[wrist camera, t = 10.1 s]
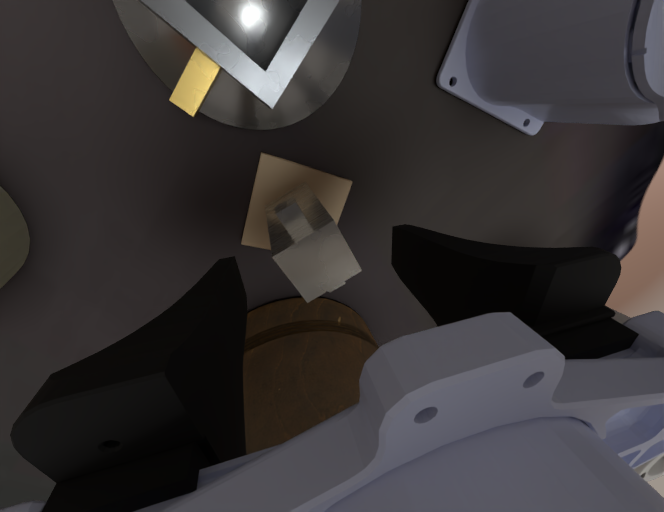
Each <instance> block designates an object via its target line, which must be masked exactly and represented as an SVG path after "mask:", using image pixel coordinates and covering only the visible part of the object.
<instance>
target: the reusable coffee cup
mask: <svg viewBox="0 0 664 512" xmlns="http://www.w3.org/2000/svg"><path fill="white" fill-rule="evenodd" d="M29 246H30V237H29V232H28V227H27V224H26V222H25V220H24V217H23V215H22V213H21V211H20V209H19V208H18V207H17V205H16V204H15V202H14V201H13V200H12V198H11V197H10V196H9V194H8V193H7V192H6V191H5V190H4V189H3V188H2V187H1V186H0V289H1V288H2V287H3V286H4V285H5V284H6V283H7V282H8V281H9V280H10V279H11V278H12V277H13V276H14V275H15V274H16V273H17V271H18V270H19V269H20V268H21V267H22V266H23V264H24V263H25V260H26V258H27V256H28V253H29Z"/></svg>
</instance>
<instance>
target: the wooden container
mask: <svg viewBox="0 0 664 512" xmlns="http://www.w3.org/2000/svg"><path fill="white" fill-rule="evenodd" d="M378 348H379V347H378V345H377V343H376V342H375V340H374V338H373V336H372V334H371V332H370V330H369V329H368V327H367V325H366V324H365V322H364V321H363V319H362V318H361V317H360V316H359V315H358V314H357V313H356V312H355V311H353V310H352V309H351V308H349V307H347V306H345V305H343V304H341V303H338V302H336V301H333V300H329V299H324V298H315V299H314V300H312V301H310V302H308V303H307V302H306V300H305V299H304V298H303V297H300V298H290V299H285V300H280V301H276V302H273V303H270V304H267V305H264V306H262V307H259V308H257V309H255V310H253V311H251V312H249V313H247V325H246V336H245V346H244V357H243V394H244V419H245V438H246V454H247V455H248V454H251V453H254V452H257V451H261V450H264V449H267V448H270V447H273V446H276V445H280V444H282V443H284V442H286V441H288V440H290V439H292V438H293V437H295V436H297V435H299V434H301V433H303V432H305V431H306V430H308V429H310V428H312V427H314V426H316V425H318V424H319V423H321V422H323V421H325V420H327V419H329V418H330V417H332V416H334V415H336V414H338V413H340V412H342V411H343V410H345V409H347V408H349V407H351V406H353V405H354V404H356V403H358V402H359V399H360V385H359V379H360V376H361V373H362V370H363V367H364V363H365V362H366V361H367V359H368V358H369V357H370V356H371V355H372V354H373V353H374V352H375V351H376V350H377V349H378Z"/></svg>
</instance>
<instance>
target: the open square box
mask: <svg viewBox="0 0 664 512" xmlns="http://www.w3.org/2000/svg"><path fill="white" fill-rule="evenodd" d="M137 1H139V2H140V3H141V4H142V5H144V6H145V7H146V8H147V9H148V10H150V11H151V12H152V13H153V14H155V15H156V16H157V17H158V18H159V19H161V20H162V21H163V22H164V23H166V24H167V25H168V26H169V27H170V28H172V29H173V30H174V31H175V32H177V33H178V34H179V35H180V36H181V37H183V38H184V39H185V40H186V41H188V42H189V43H190V44H191V45H192V46H194V47H195V48H196V49H195V51H194V53H193V54H192V56H191V58H190V60H189V62H188V64H187V66H186V68H185V70H184V72H183V74H182V76H181V78H180V80H179V82H178V84H177V86H176V88H175V89H174V91H173V93H172V95H171V97H170V99H169V100H170V101H171V102H173V103H174V104H175V105H177V106H178V107H180V108H181V109H183V110H184V111H186V112H187V113H188V114H190V115H191V116H193V117H196V116H197V115H198V113H199V111H200V109H201V107H202V105H203V104H204V102H205V100H206V98H207V96H208V95H209V93H210V91H211V89H212V87H213V85H214V84H215V82H216V80H217V78H218V76H219V74H220V73H221V71H222V70H223V71H224V72H225V73H227V74H228V75H229V76H230V77H231V78H233V79H234V80H235V81H236V82H238V83H239V84H240V85H241V86H242V87H244V88H245V89H246V90H247V91H249V92H250V93H251V94H252V95H253V96H255V97H256V98H257V99H258V100H260V101H261V102H262V103H263V104H264V105H266V106H267V107H268V108H269V109H273V107H274V106H275V104H276V102H277V101H278V99H279V98H280V96H281V94H282V93H283V91H284V89H285V88H286V86H287V85H288V83H289V81H290V80H291V78H292V77H293V75H294V73H295V72H296V70H297V68H298V67H299V65H300V64H301V62H302V60H303V59H304V57H305V56H306V54H307V52H308V51H309V49H310V47H311V46H312V44H313V43H314V41H315V39H316V38H317V36H318V35H319V33H320V31H321V30H322V28H323V26H324V25H325V23H326V22H327V20H328V18H329V17H330V15H331V14H332V12H333V10H334V9H335V7H336V5H337V4H338V2H339V1H340V0H308V1H307V2H306V4H305V6H304V8H303V9H302V11H301V13H300V14H299V16H298V18H297V19H296V21H295V23H294V24H293V26H292V28H291V30H290V31H289V33H288V35H287V36H286V38H285V40H284V41H283V43H282V45H281V46H280V48H279V50H278V52H277V53H276V55H275V57H274V58H273V60H272V62H271V63H270V65H269V67H268V69H267V70H266V72H265V71H264V70H263V69H262V68H260V67H259V66H258V65H257V64H256V63H255V62H254V61H252V60H251V59H250V58H249V57H248V56H247V55H246V54H245V53H243V52H242V51H241V50H240V49H239V48H238V47H237V46H236V45H234V44H233V43H232V42H231V41H230V40H229V39H228V38H227V37H225V36H224V35H223V34H222V33H221V32H220V31H219V30H218V29H216V28H215V27H214V26H213V25H212V24H211V23H210V22H208V21H207V20H206V19H205V18H204V17H203V16H202V15H201V14H199V13H198V12H197V11H196V10H195V9H194V8H193V7H192V6H190V5H189V4H188V3H187V2H186V1H185V0H137Z"/></svg>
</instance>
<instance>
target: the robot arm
mask: <svg viewBox="0 0 664 512" xmlns="http://www.w3.org/2000/svg"><path fill="white" fill-rule="evenodd" d="M451 78H452V79H453V83H452V85H451V86H450V85H449V81H450V79H451ZM436 83H437V86H438V87H439V88H441V89H443V90H445V91H447V92H449V93H450V94H452V95H454V96H456V97H458V98H460V99H462V100H463V101H465V102H467V103H469V104H471V105H473V106H475V107H477V108H478V109H480V110H482V111H484V112H486V113H488V114H490V115H491V116H493V117H495V118H497V119H499V120H501V121H503V122H504V123H506V124H508V125H510V126H512V127H514V128H516V129H518V130H519V131H521V132H523V133H525V134H527V135H535V134H536V133H537V132H538V131H539V130H540V128H541V126H542V125H543V123H544V122H564V123H588V124H612V125H644V124H651V123H656V122H660V121H664V0H469V1H468V3H467V5H466V8H465V10H464V13H463V15H462V17H461V20H460V22H459V25H458V27H457V29H456V32H455V34H454V36H453V39H452V41H451V44H450V46H449V48H448V51H447V53H446V56H445V58H444V60H443V63H442V65H441V67H440V70H439V72H438V75H437V78H436ZM524 121H525V123H524ZM523 123H524V125H523ZM391 264H392V266H393V268H394V269H395V271H396V273H397V274H398V276H399V278H400V279H401V280H402V282H403V283H404V284H405V285H406V287H407V288H408V289H409V290H410V291H411V293H412V294H413V295H414V296H415V297H416V299H417V300H418V301H419V302H420V303H421V304H422V306H423V307H424V308H425V309H426V310H427V312H428V313H429V314H430V316H431V317H432V318H433V319H434V321H435V322H436V324H437V326H438V327H435V328H431V329H427V330H424V331H420V332H416V333H413V334H409V335H405V336H401V337H399V338H397V339H395V340H392V341H390V342H388V343H386V344H384V345H382V346H380V347H379V348H378V349H377V350H376V351H375V352H374V353H373V354H372V355H371V356H370V357H369V358H368V359H367V361H366V362H365V363H364V367H363V370H362V373H361V376H360V379H359V385H360V399H359V402H358V403H356V404H354V405H353V406H351V407H349V408H347V409H345V410H343V411H342V412H340V413H338V414H336V415H334V416H332V417H330V418H329V419H327V420H325V421H323V422H321V423H319V424H318V425H316V426H314V427H312V428H310V429H308V430H306V431H305V432H303V433H301V434H299V435H297V436H295V437H293V438H292V439H290V440H288V441H286V442H284V443H282V444H280V445H276V446H273V447H270V448H267V449H264V450H261V451H257V452H254V453H251V454H248V455H247V454H246V438H245V419H244V394H243V357H244V346H245V336H246V325H247V297H246V292H245V289H244V286H243V282H242V279H241V276H240V272H239V269H238V266H237V263H236V259H235V256H234V257H229V258H224V259H219V260H218V261H217V262H216V263H215V264H214V265H213V266H212V268H211V269H210V270H209V271H208V272H207V273H206V274H205V275H204V276H203V277H202V278H201V279H200V280H199V281H198V282H197V283H196V284H195V285H194V286H193V287H192V288H191V289H190V290H189V291H188V292H187V293H186V294H185V295H184V296H183V297H182V298H180V299H179V300H178V301H177V302H176V303H175V304H173V305H172V306H171V307H170V308H168V309H167V310H166V311H164V312H163V313H162V314H160V315H159V316H158V317H156V318H155V319H153V320H152V321H150V322H149V323H147V324H146V325H144V326H143V327H141V328H139V329H138V330H136V331H135V332H133V333H132V334H130V335H128V336H126V337H125V338H123V339H121V340H120V341H118V342H116V343H114V344H112V345H110V346H109V347H107V348H105V349H103V350H101V351H99V352H97V353H95V354H93V355H91V356H89V357H87V358H85V359H83V360H81V361H79V362H77V363H74V364H72V365H70V366H68V367H66V368H64V369H62V370H60V371H57V372H55V373H53V374H51V375H50V376H49V378H48V379H47V380H46V382H45V383H44V384H43V386H42V387H41V388H40V390H39V391H38V392H37V394H36V395H35V396H34V398H33V399H32V400H31V402H30V403H29V404H28V406H27V407H26V408H25V410H24V411H23V412H22V414H21V415H20V416H19V418H18V419H17V420H16V422H15V423H14V424H13V427H12V431H11V434H10V436H11V440H12V444H13V446H14V448H15V449H16V450H17V451H18V453H19V454H20V455H21V456H22V457H23V458H24V459H26V460H27V461H28V462H30V463H31V464H32V465H34V466H35V467H36V468H38V469H39V470H40V471H42V472H43V473H44V474H45V475H47V476H48V477H49V478H51V479H52V480H53V481H55V482H56V485H55V487H54V489H53V491H52V493H51V495H50V497H49V499H48V501H47V502H46V501H37V500H34V501H28V502H23V503H20V504H16V505H13V506H10V507H7V508H3V509H0V512H664V498H663V497H662V496H661V495H660V494H659V493H658V492H657V491H656V490H655V489H654V488H652V486H650V485H649V484H648V483H647V482H646V481H645V480H644V479H643V478H642V477H641V476H640V475H639V474H638V473H637V472H636V471H635V470H634V469H635V468H637V467H639V466H641V465H642V464H644V463H646V462H648V461H650V460H652V459H654V458H656V457H658V456H660V455H661V454H663V453H664V314H663V313H662V312H660V311H652V312H649V313H646V314H643V315H639V316H636V317H633V318H630V319H628V320H627V321H626V322H624V323H623V324H621V323H619V322H618V321H616V320H614V319H613V318H611V317H614V316H615V314H616V313H615V311H614V310H612V309H610V308H608V307H606V306H605V303H606V302H607V300H608V298H609V296H610V294H611V292H612V290H613V288H614V287H615V285H616V283H617V281H618V278H619V276H620V272H621V264H620V260H619V258H618V257H617V256H616V255H615V254H612V253H610V252H607V251H605V250H603V249H600V248H596V247H571V248H534V247H517V246H506V245H497V244H489V243H483V242H477V241H471V240H467V239H462V238H458V237H454V236H450V235H446V234H442V233H438V232H435V231H431V230H428V229H424V228H420V227H416V226H412V225H406V224H404V225H399V226H394V227H393V231H392V263H391Z"/></svg>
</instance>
